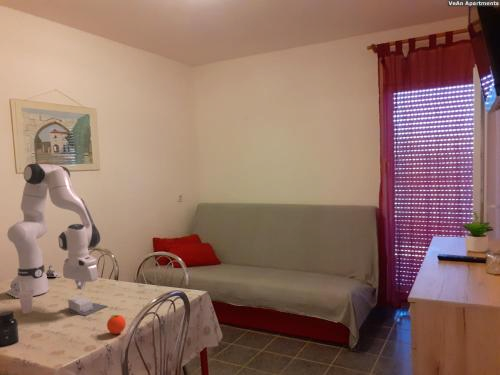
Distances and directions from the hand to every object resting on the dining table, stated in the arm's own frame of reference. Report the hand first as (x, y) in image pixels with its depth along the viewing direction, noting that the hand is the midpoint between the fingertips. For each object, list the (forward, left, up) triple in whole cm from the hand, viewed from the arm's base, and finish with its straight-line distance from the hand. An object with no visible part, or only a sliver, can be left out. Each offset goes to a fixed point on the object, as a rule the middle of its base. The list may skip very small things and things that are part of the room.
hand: (81, 288), depth 181 cm
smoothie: (-20, -14, -9) cm, 26 cm away
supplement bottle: (+6, -37, -9) cm, 39 cm away
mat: (+3, 0, -9) cm, 10 cm away
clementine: (+37, -13, -9) cm, 40 cm away
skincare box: (-5, 0, -7) cm, 9 cm away
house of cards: (-67, +32, -10) cm, 75 cm away
